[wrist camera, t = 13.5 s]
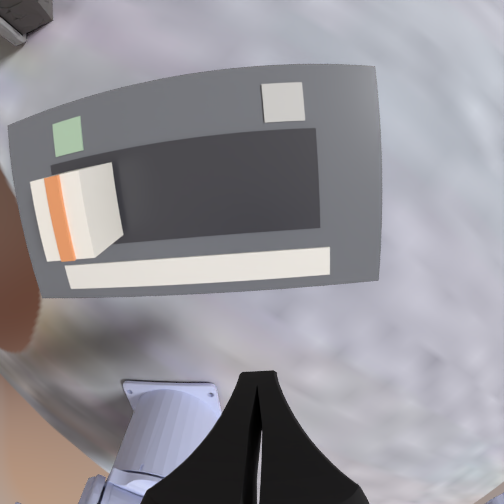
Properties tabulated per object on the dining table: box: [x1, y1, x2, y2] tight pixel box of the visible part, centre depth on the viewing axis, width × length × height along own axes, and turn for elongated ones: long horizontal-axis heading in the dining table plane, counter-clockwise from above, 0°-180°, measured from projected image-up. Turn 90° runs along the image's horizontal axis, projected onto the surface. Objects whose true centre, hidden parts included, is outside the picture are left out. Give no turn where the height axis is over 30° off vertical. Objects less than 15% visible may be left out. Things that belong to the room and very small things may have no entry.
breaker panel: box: [8, 64, 382, 298], centre depth 18 cm, size 12×22×3 cm, turn 95°
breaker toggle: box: [30, 162, 123, 262], centre depth 14 cm, size 4×3×4 cm
